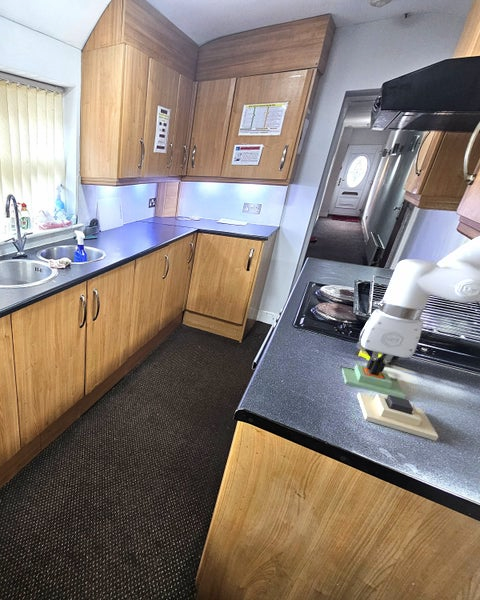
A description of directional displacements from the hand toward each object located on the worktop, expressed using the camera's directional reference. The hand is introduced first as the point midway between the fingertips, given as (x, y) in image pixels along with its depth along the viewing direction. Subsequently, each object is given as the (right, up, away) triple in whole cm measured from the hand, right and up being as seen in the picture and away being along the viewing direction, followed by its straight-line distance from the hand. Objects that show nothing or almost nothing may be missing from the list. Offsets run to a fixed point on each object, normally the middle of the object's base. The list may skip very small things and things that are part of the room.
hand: (372, 372), depth 87 cm
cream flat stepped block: (-5, -8, -11) cm, 15 cm away
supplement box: (+9, 0, +10) cm, 14 cm away
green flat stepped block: (0, -3, +1) cm, 3 cm away
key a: (-5, -6, -12) cm, 14 cm away
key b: (0, -2, +1) cm, 2 cm away
